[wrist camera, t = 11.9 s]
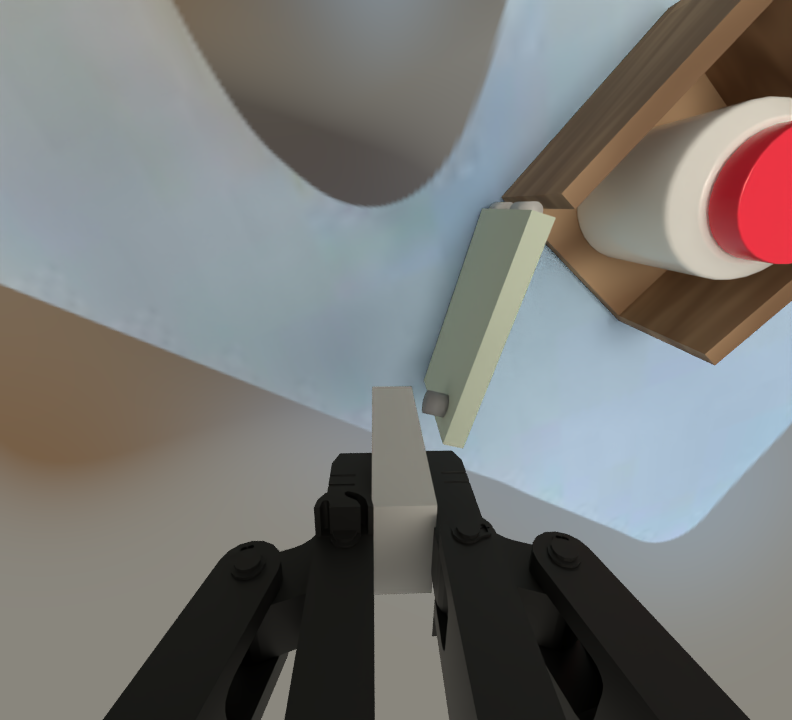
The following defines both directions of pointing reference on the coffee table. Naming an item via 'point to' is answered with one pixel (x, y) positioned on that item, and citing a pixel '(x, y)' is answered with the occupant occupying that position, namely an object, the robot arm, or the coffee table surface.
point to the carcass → (627, 125)
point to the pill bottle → (701, 194)
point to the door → (483, 313)
